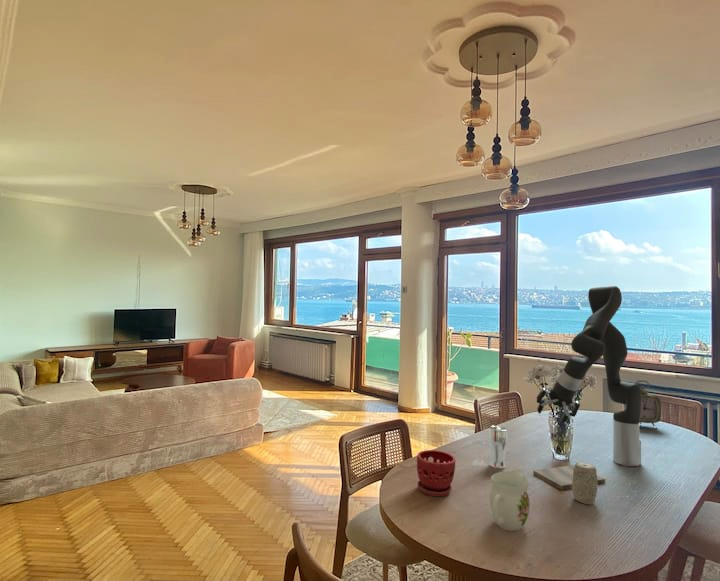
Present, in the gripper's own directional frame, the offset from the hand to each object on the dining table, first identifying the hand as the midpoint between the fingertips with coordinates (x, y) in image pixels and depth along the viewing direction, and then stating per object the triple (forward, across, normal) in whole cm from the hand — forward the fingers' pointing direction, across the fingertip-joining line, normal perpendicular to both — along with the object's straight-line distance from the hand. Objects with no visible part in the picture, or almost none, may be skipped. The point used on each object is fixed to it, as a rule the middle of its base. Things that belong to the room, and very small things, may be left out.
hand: (550, 416), depth 165 cm
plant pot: (+22, +32, +38) cm, 54 cm away
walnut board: (+16, -13, +10) cm, 23 cm away
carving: (+9, -14, +27) cm, 32 cm away
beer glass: (+26, +11, +8) cm, 29 cm away
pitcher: (+8, +12, +52) cm, 54 cm away
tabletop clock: (+31, -65, -75) cm, 104 cm away
